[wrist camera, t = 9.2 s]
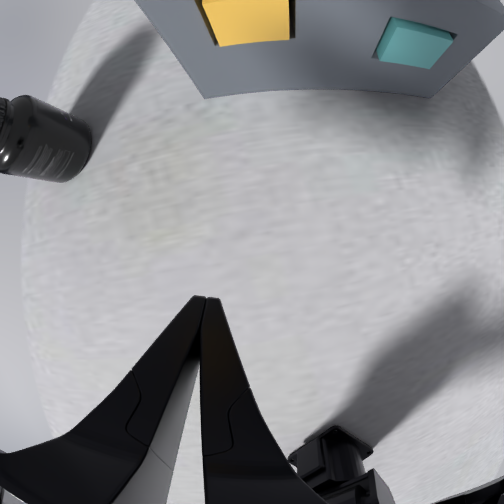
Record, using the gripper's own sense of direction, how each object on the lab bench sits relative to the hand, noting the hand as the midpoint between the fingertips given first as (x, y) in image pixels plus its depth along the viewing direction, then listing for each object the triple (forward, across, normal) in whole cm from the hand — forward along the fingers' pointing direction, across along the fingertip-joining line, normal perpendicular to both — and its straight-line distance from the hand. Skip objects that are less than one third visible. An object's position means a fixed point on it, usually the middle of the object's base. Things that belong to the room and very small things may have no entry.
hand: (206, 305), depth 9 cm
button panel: (+19, -6, -8) cm, 22 cm away
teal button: (+13, -10, -12) cm, 20 cm away
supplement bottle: (+18, +17, +1) cm, 25 cm away
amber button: (+12, 0, -10) cm, 16 cm away
